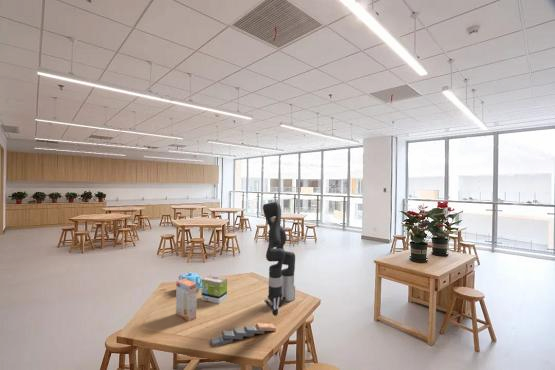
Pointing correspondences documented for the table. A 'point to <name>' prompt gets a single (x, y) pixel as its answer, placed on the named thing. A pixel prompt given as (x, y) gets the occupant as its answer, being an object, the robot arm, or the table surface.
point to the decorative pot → (192, 278)
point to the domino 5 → (265, 327)
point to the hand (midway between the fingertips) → (275, 315)
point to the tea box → (214, 289)
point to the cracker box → (186, 299)
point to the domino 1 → (220, 341)
